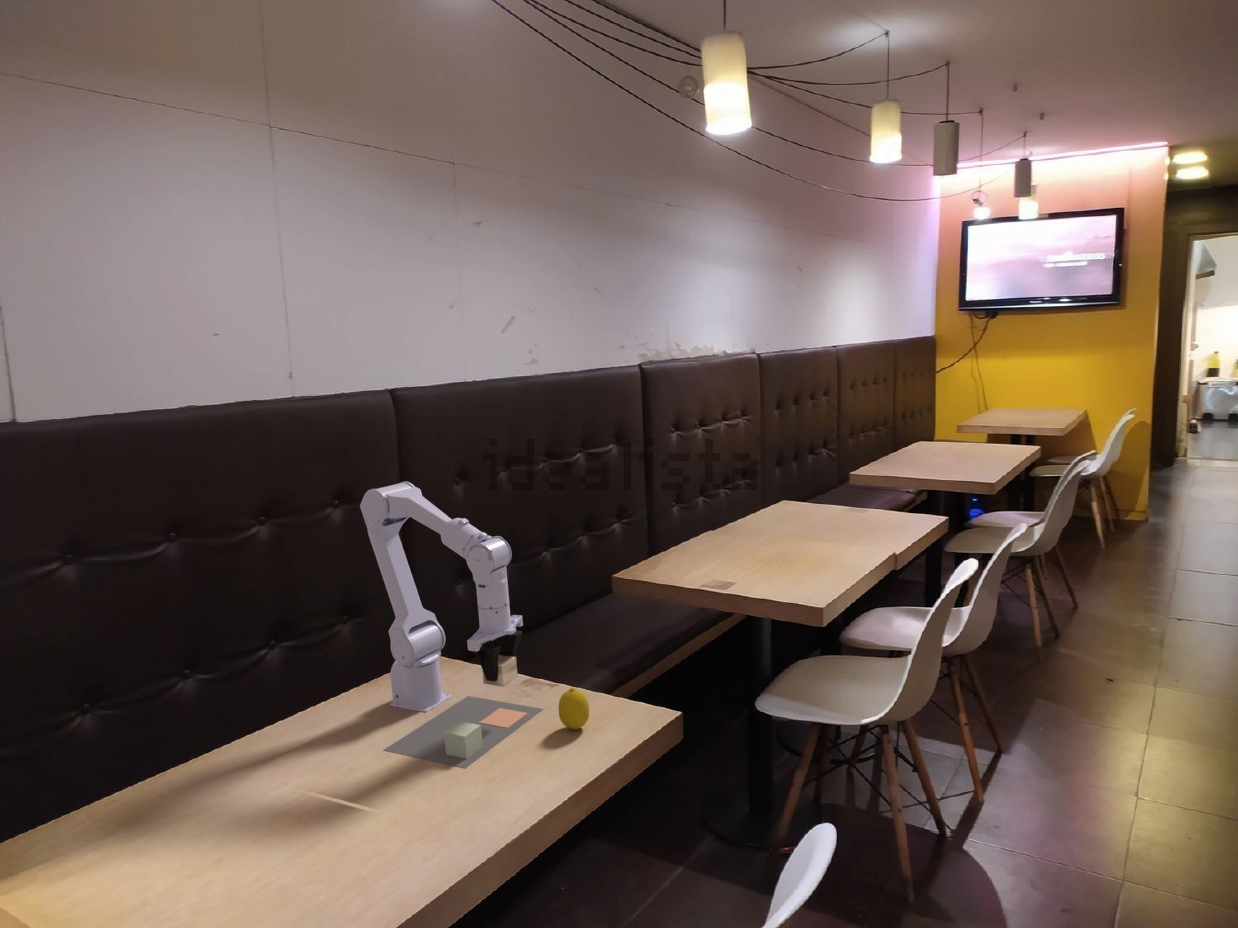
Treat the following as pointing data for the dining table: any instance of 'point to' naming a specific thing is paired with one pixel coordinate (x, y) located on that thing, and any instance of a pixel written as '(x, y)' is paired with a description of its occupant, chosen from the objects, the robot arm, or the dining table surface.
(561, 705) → the lemon
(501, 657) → the cream block
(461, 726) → the sage block
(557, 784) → the dining table surface
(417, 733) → the grey mat
